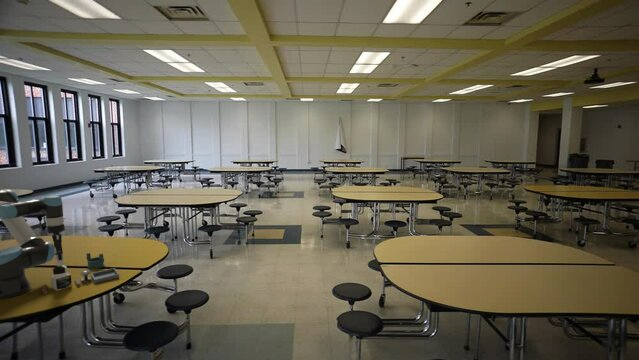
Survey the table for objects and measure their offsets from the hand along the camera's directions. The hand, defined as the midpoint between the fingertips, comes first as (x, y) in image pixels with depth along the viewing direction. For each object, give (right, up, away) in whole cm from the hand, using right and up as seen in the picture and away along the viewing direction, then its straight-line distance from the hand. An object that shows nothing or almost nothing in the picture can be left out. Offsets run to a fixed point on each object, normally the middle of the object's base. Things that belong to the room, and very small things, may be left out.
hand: (59, 262), depth 186 cm
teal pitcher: (-1, -11, +32) cm, 34 cm away
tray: (+16, -13, +15) cm, 25 cm away
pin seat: (0, -14, +2) cm, 14 cm away
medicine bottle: (0, -15, +2) cm, 15 cm away
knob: (+7, -13, +11) cm, 19 cm away
